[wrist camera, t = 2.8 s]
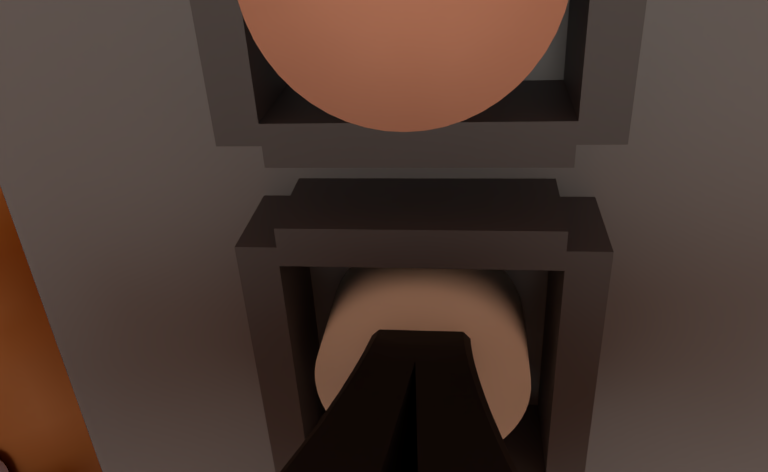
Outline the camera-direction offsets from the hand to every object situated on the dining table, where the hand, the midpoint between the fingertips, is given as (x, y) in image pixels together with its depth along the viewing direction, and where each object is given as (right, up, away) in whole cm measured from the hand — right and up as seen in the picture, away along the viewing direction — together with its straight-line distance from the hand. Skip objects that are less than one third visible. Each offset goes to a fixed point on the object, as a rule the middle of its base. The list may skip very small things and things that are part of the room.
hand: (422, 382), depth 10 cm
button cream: (0, +1, +1) cm, 2 cm away
